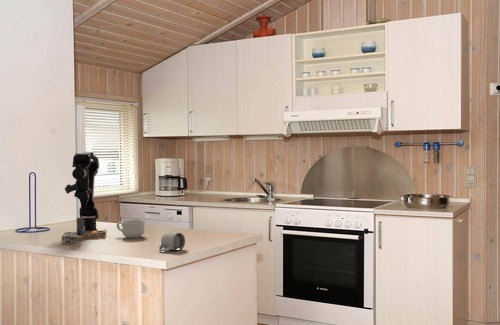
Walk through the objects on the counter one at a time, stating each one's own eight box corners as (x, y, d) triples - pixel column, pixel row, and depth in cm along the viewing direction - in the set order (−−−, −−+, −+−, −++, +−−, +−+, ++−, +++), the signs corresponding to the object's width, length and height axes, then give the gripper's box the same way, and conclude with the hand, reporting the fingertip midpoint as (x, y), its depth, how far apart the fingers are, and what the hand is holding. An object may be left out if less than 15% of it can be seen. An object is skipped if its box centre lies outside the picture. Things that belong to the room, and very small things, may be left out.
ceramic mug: (172, 247, 232) (171, 229, 231) (185, 249, 227) (185, 231, 227) (154, 252, 223) (153, 234, 223) (168, 254, 218) (167, 235, 218)
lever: (61, 236, 244) (60, 218, 244) (81, 231, 259) (80, 213, 258) (81, 237, 241) (80, 218, 241) (99, 231, 256) (99, 214, 256)
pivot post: (61, 244, 242) (60, 238, 242) (62, 242, 247) (62, 236, 247) (72, 243, 243) (72, 237, 243) (73, 241, 248) (73, 235, 248)
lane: (61, 240, 252) (61, 234, 252) (64, 237, 261) (64, 231, 261) (105, 238, 256) (105, 232, 256) (106, 235, 265) (106, 229, 265)
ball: (97, 235, 262) (94, 229, 261) (100, 234, 259) (96, 229, 259) (92, 239, 260) (89, 233, 259) (95, 238, 257) (91, 232, 257)
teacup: (149, 236, 260) (148, 220, 259) (135, 240, 250) (135, 223, 249) (126, 234, 265) (125, 218, 265) (112, 238, 256) (111, 222, 255)
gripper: (68, 177, 271) (69, 208, 272) (62, 180, 253) (63, 212, 254) (90, 176, 274) (91, 207, 274) (87, 179, 255) (88, 211, 256)
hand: (83, 209), depth 265 cm, fingers closed
